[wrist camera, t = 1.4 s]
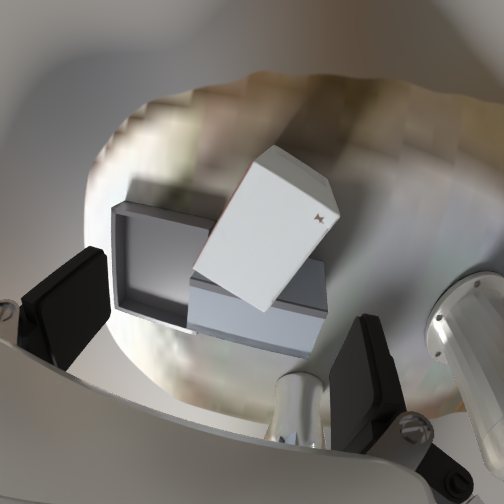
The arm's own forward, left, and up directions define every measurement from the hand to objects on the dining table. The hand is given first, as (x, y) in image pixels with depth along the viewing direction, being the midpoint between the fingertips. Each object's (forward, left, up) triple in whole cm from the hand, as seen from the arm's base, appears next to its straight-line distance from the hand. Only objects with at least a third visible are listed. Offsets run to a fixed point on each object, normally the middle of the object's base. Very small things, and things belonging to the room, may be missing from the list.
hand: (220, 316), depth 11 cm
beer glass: (-8, +22, -18) cm, 30 cm away
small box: (0, 0, -18) cm, 18 cm away
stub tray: (+10, +9, -18) cm, 22 cm away
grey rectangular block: (-1, +7, -18) cm, 19 cm away
